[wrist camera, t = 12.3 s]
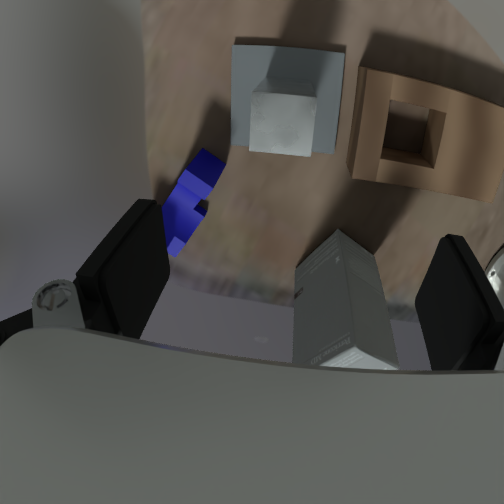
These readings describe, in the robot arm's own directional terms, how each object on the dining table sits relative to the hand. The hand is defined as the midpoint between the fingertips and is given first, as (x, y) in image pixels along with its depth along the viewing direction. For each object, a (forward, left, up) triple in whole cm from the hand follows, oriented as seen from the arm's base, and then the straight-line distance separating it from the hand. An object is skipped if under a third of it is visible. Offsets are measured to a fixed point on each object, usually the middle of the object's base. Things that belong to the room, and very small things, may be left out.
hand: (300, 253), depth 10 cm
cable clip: (+11, +11, -23) cm, 28 cm away
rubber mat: (+1, -1, -23) cm, 23 cm away
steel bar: (+1, -1, -22) cm, 22 cm away
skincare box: (-6, +18, -23) cm, 30 cm away
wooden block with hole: (-13, 0, -23) cm, 26 cm away
